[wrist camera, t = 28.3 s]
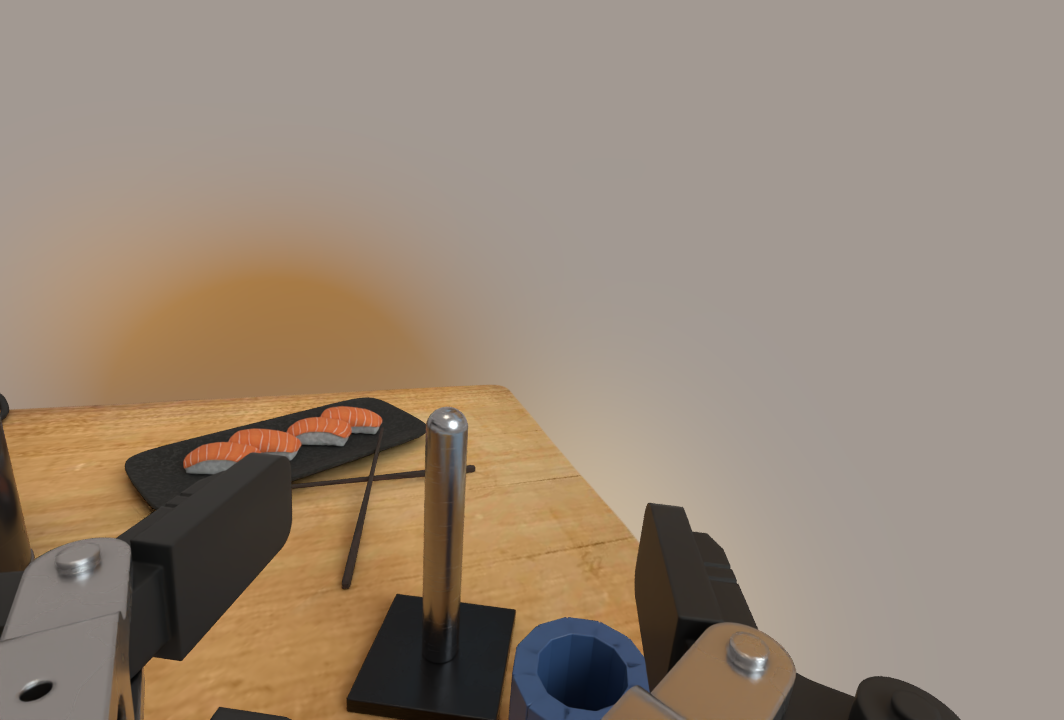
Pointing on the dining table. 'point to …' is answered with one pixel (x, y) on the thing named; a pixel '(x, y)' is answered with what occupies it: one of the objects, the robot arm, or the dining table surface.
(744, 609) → the robot arm
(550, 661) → the blue fluted sleeve
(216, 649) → the dining table surface
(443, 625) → the peg on square base
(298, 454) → the sushi plate
